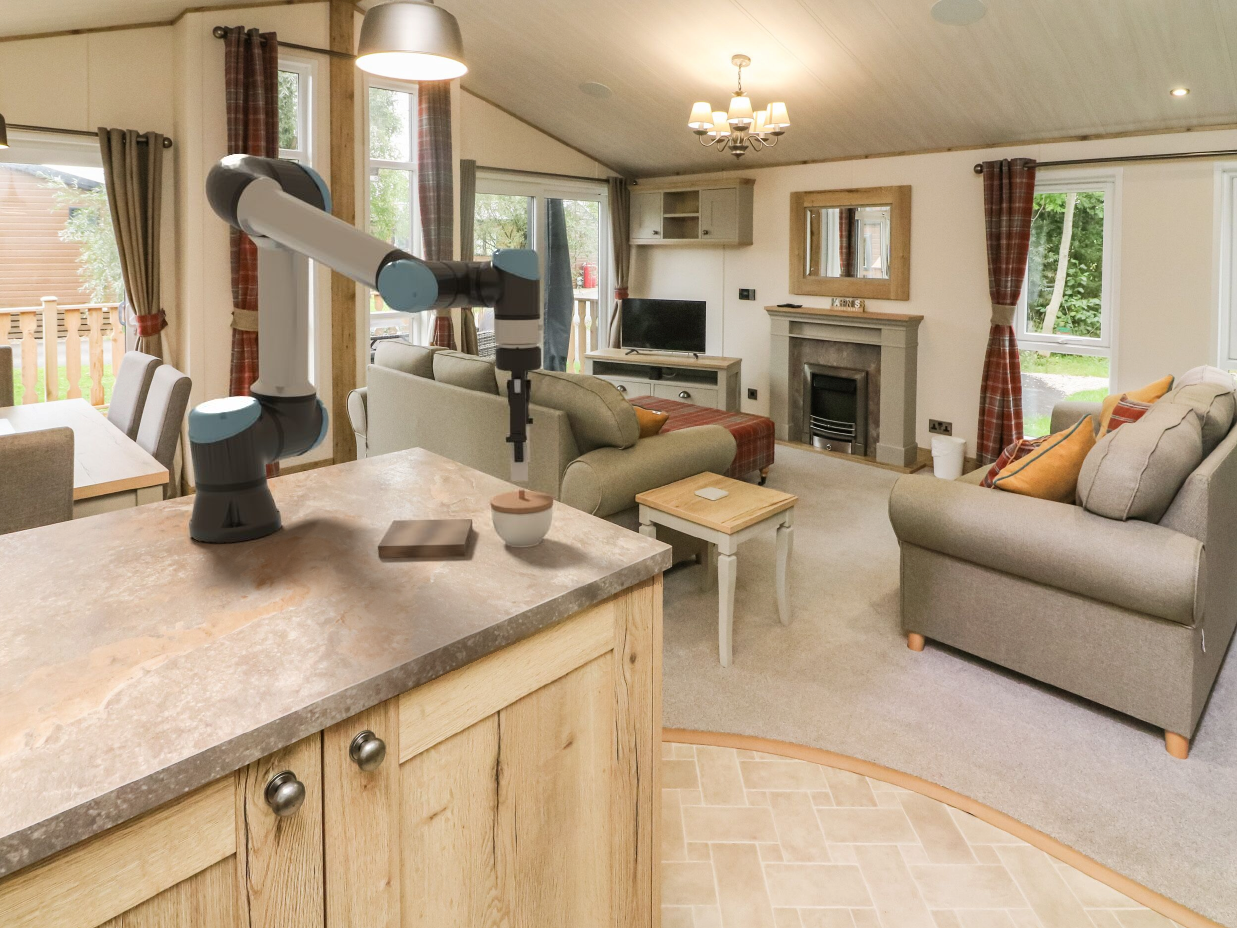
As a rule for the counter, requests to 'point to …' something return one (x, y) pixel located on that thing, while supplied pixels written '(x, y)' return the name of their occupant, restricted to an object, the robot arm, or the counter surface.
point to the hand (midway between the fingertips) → (521, 470)
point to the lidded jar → (522, 517)
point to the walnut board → (426, 538)
